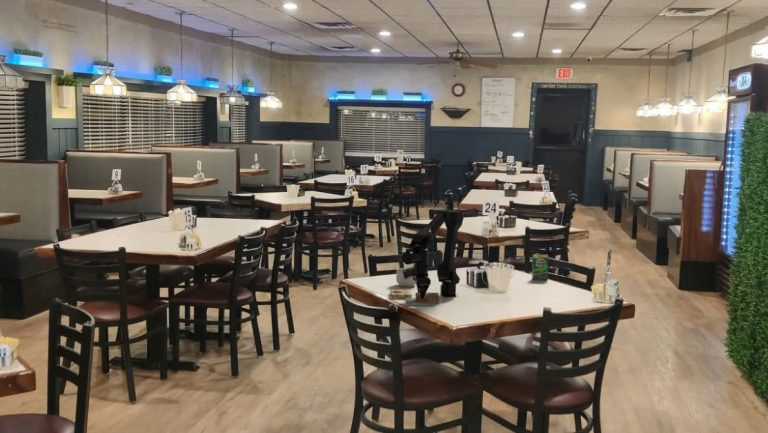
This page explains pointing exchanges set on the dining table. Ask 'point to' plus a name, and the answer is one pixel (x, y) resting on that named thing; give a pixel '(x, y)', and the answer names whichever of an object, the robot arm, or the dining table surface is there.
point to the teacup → (402, 281)
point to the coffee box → (540, 267)
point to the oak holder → (400, 294)
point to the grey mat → (413, 302)
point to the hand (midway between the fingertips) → (420, 296)
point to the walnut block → (428, 297)
